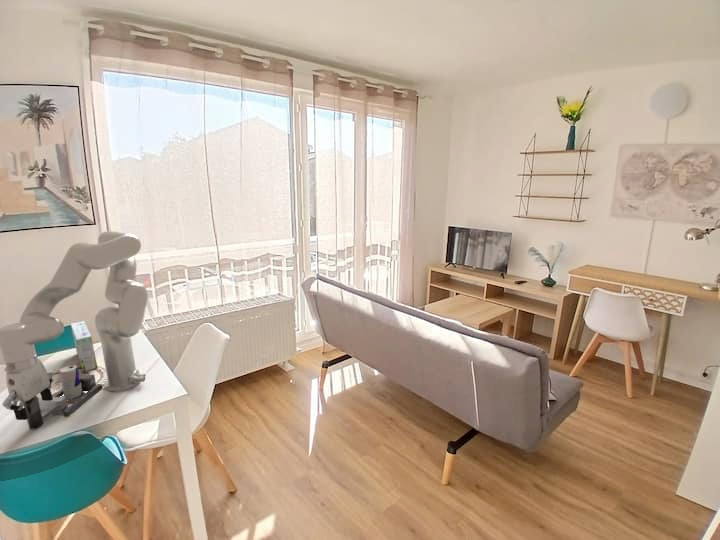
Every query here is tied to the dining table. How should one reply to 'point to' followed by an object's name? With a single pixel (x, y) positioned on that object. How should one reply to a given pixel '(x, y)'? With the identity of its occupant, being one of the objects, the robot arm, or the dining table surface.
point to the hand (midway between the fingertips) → (35, 409)
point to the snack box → (84, 346)
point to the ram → (43, 410)
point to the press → (87, 385)
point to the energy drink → (71, 382)
